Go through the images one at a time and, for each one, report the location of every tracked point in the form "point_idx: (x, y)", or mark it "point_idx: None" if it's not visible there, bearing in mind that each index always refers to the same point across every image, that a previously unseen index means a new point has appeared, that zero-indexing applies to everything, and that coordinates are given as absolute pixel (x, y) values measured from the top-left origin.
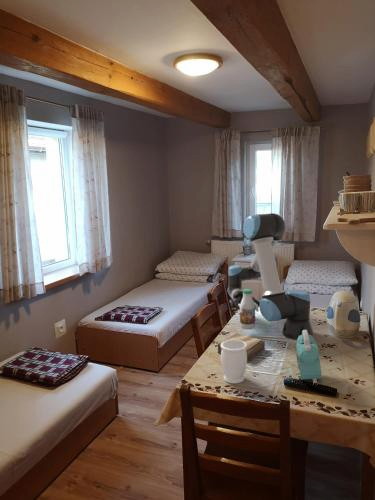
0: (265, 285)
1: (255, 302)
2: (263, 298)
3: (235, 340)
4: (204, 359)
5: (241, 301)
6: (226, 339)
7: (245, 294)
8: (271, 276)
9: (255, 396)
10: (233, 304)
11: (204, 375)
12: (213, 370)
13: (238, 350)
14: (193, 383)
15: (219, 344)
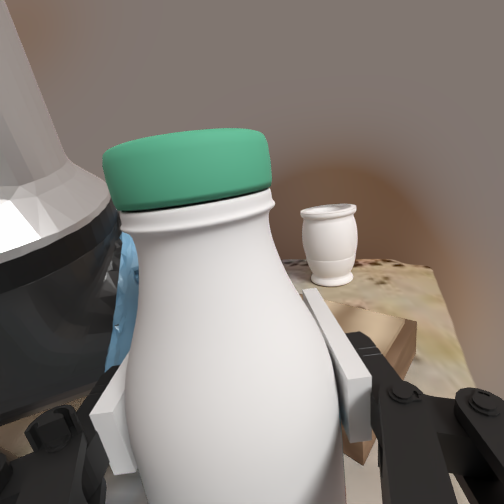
0: (43, 100)
1: (77, 417)
2: (115, 222)
3: (325, 214)
4: (442, 321)
5: (310, 313)
6: (391, 340)
7: (245, 194)
8: None
9: (295, 261)
10: (461, 395)
11: (399, 279)
12: (386, 291)
13: (316, 207)
14: (408, 266)
15: (408, 320)
